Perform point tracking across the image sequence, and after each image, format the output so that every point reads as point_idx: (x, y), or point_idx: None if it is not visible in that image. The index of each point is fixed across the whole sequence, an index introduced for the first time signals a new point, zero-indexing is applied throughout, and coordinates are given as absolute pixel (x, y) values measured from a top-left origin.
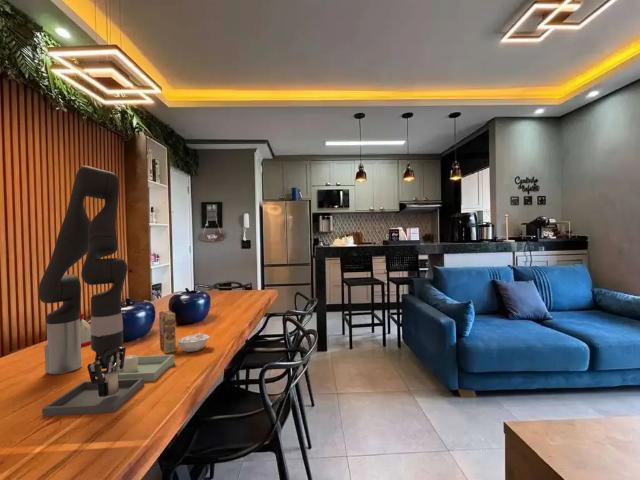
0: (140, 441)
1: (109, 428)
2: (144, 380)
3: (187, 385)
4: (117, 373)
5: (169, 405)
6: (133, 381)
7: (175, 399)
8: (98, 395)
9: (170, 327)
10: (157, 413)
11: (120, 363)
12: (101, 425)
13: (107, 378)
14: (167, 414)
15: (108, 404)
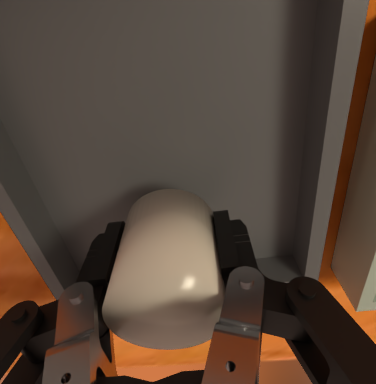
0: (10, 367)
1: (20, 297)
2: (347, 249)
3: (290, 348)
4: (188, 345)
5: (165, 354)
6: (304, 250)
7: (199, 353)
8: (202, 129)
9: None
10: (122, 350)
11: (302, 357)
12: (22, 271)
13: (107, 339)
14: (122, 365)
15: (58, 296)
